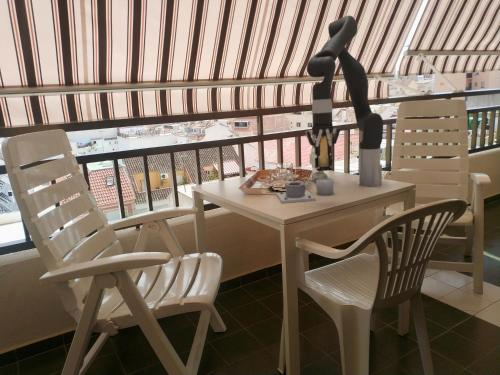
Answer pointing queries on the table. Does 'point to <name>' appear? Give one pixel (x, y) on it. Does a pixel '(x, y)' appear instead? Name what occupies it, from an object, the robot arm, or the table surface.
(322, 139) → the cylinder
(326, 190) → the grey wide stub
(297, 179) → the plant saucer
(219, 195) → the table surface
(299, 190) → the flange coupling
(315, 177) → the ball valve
